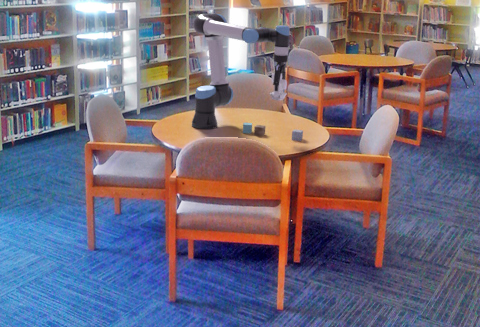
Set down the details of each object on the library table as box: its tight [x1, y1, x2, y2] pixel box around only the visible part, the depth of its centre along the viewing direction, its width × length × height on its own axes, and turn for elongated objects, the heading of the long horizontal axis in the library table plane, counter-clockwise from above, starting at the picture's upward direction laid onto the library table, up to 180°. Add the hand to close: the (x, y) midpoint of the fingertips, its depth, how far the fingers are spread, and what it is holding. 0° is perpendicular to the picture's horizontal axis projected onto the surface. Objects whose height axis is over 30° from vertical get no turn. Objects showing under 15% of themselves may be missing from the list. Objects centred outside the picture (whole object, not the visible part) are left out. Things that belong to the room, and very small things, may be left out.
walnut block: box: [253, 124, 266, 137], centre depth 335 cm, size 5×5×5 cm
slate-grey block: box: [291, 128, 304, 142], centre depth 328 cm, size 5×5×5 cm
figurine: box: [269, 72, 288, 101], centre depth 326 cm, size 7×9×15 cm
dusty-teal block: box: [242, 122, 253, 134], centre depth 339 cm, size 5×5×5 cm
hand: (278, 95), depth 328 cm, fingers closed on figurine, 8 cm apart
